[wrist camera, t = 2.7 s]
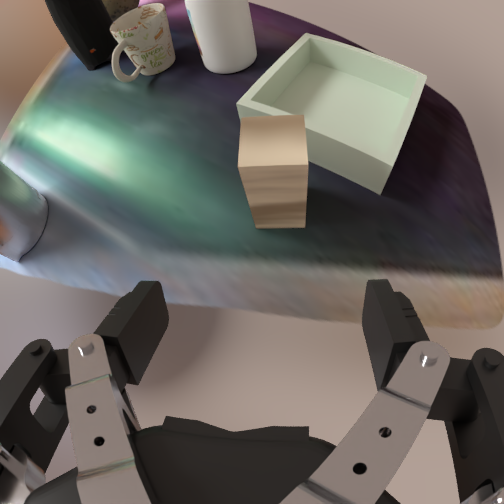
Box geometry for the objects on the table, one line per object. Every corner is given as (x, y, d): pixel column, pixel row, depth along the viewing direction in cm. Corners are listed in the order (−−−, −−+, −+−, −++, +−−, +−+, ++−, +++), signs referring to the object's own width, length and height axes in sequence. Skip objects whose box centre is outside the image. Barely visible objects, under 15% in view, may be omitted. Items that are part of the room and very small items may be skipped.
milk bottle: (268, 53, 38) (249, -68, 19) (234, 81, 36) (200, -53, 18) (227, 42, 40) (200, -66, 21) (193, 68, 39) (152, -47, 20)
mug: (191, 48, 41) (174, -1, 32) (154, 99, 37) (127, 45, 28) (149, 51, 43) (129, 7, 33) (111, 100, 39) (81, 54, 30)
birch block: (305, 227, 28) (308, 164, 19) (256, 228, 29) (237, 166, 20) (303, 185, 30) (304, 114, 20) (257, 186, 30) (241, 117, 21)
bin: (380, 195, 28) (392, 166, 24) (243, 134, 33) (236, 103, 28) (417, 103, 32) (427, 76, 27) (306, 61, 36) (305, 33, 32)
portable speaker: (116, 65, 43) (70, -17, 25) (77, 77, 44) (29, 5, 26) (132, 40, 46) (96, -37, 27) (95, 51, 47) (56, -17, 29)
